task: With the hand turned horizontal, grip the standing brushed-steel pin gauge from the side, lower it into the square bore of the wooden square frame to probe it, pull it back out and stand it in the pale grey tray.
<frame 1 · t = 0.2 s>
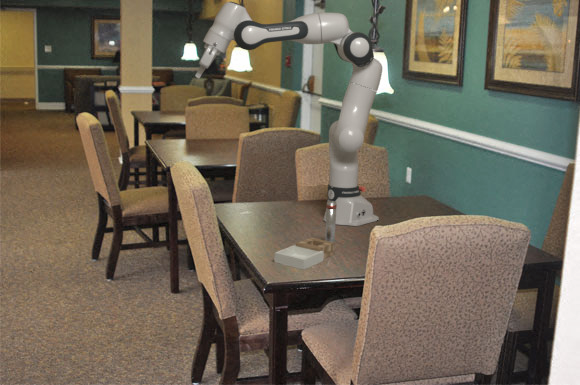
hand: (197, 77, 240), 54 cm above the table, tool tilted 30°, fingers open, 8 cm apart
wooden square frame: (314, 254, 213), on the table
tray: (298, 261, 206), on the table
pin gauge: (329, 248, 220), on the table
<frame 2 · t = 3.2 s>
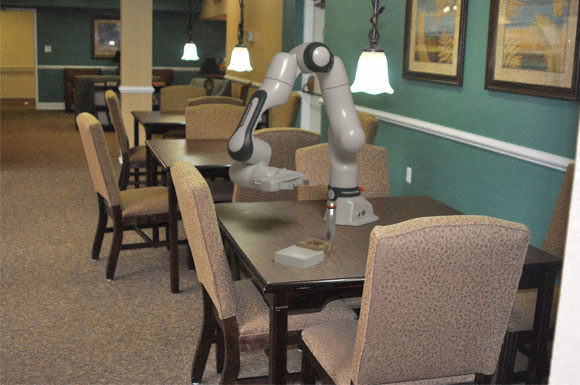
hand: (301, 184, 223), 20 cm above the table, tool horizontal, fingers open, 8 cm apart
nothing on the table moved.
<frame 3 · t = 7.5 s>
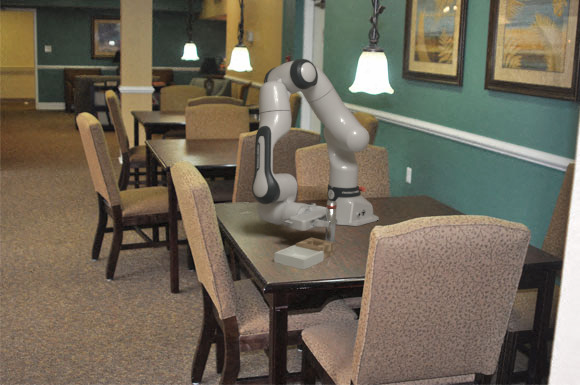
hand: (333, 222, 218), 9 cm above the table, tool horizontal, fingers closed on pin gauge, 3 cm apart
pin gauge: (329, 248, 220), on the table, touching gripper
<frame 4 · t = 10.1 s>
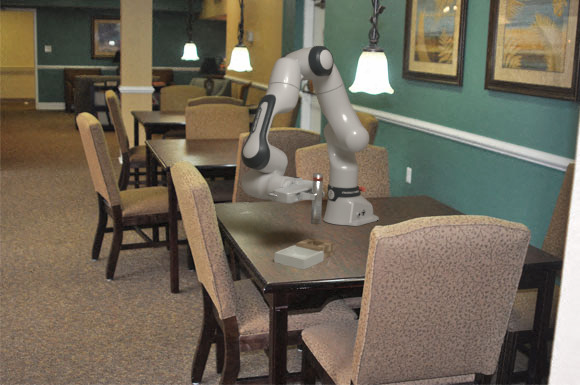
hand: (319, 196, 208), 20 cm above the table, tool horizontal, fingers closed on pin gauge, 3 cm apart
pin gauge: (315, 223, 211), point 11 cm above the table, touching gripper
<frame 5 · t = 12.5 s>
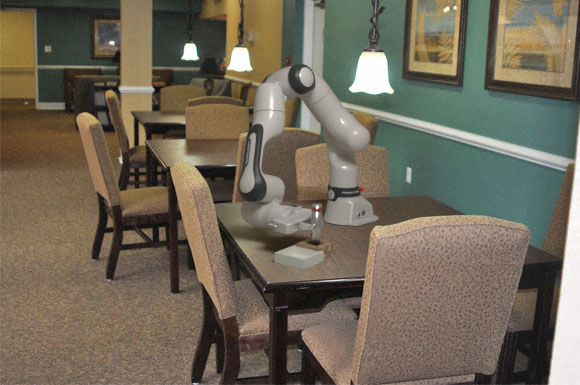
hand: (318, 226, 210), 10 cm above the table, tool horizontal, fingers closed on pin gauge, 3 cm apart
pin gauge: (314, 252, 213), point 1 cm above the table, touching gripper
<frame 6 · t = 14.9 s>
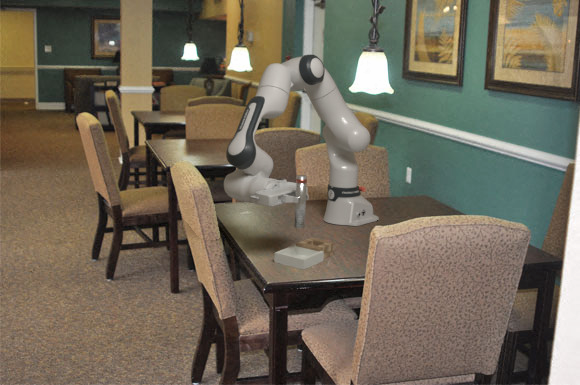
hand: (303, 198, 201), 20 cm above the table, tool horizontal, fingers closed on pin gauge, 3 cm apart
pin gauge: (299, 226, 203), point 11 cm above the table, touching gripper
when the fingers open (11 cm above the table, at t = 17.4 s): pin gauge stays where it is, resting on tray.
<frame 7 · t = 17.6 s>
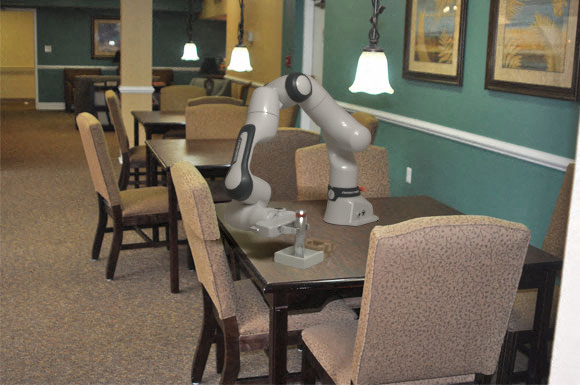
hand: (302, 229, 203), 11 cm above the table, tool horizontal, fingers open, 5 cm apart
pin gauge: (299, 259, 206), point 1 cm above the table, touching tray
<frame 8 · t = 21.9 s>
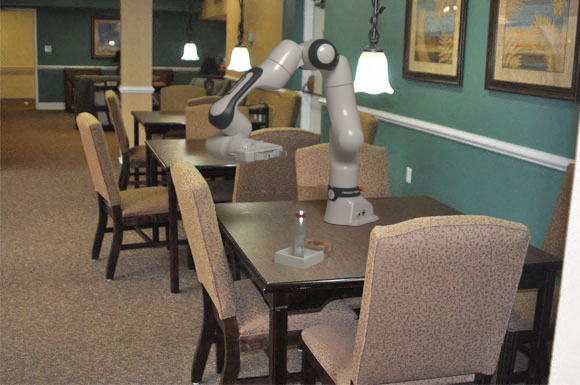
hand: (277, 155, 219), 30 cm above the table, tool horizontal, fingers open, 8 cm apart
nothing on the table moved.
at the end: pin gauge inside the target area on the tray (0.0 cm from its centre), point 0.6 cm above the tray's base; pin gauge tilted 0°; the gripper is holding nothing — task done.
